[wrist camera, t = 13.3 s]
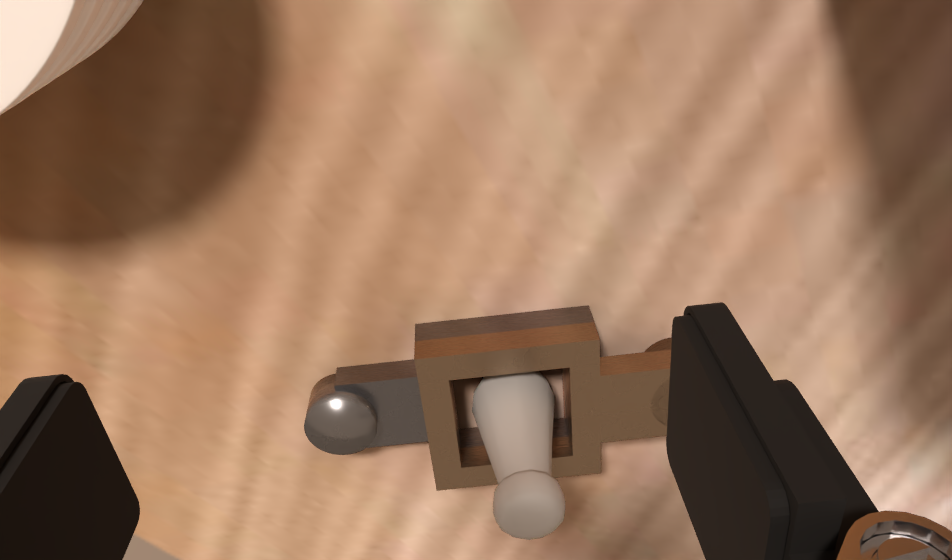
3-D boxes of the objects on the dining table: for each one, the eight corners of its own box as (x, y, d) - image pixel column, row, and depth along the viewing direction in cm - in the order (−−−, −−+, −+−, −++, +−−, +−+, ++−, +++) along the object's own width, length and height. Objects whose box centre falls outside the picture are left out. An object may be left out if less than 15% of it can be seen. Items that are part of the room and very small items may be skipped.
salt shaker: (499, 423, 56) (516, 569, 45) (454, 376, 54) (461, 518, 43) (564, 386, 55) (599, 527, 44) (521, 336, 52) (546, 472, 41)
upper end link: (711, 292, 51) (731, 325, 48) (700, 423, 57) (717, 460, 54) (415, 324, 51) (414, 359, 48) (436, 451, 57) (436, 490, 54)
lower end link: (588, 305, 51) (596, 330, 49) (590, 434, 57) (598, 463, 55) (292, 337, 51) (285, 364, 49) (327, 463, 57) (322, 492, 55)
